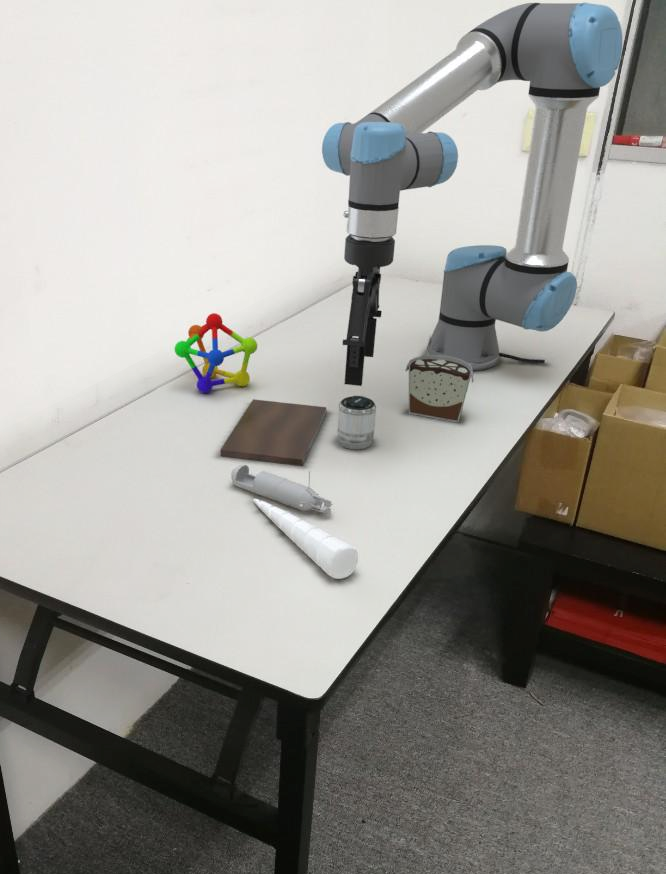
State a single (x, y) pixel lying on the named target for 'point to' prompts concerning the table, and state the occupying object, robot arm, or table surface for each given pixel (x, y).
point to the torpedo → (280, 489)
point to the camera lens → (356, 422)
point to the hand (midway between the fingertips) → (359, 369)
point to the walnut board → (275, 432)
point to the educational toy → (215, 354)
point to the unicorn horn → (315, 542)
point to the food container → (438, 386)
